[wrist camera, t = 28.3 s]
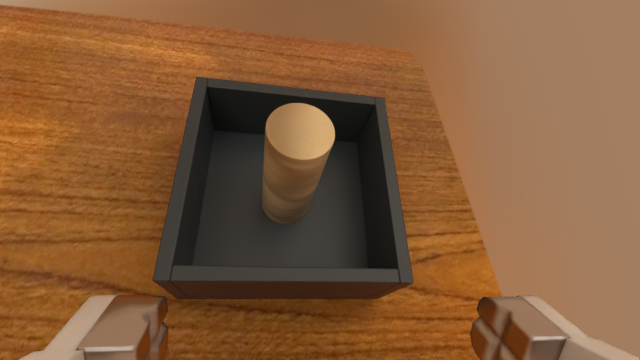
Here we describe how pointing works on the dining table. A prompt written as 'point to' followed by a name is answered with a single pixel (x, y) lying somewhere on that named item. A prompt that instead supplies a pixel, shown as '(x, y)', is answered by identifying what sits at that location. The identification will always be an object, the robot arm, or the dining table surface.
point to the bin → (262, 232)
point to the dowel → (294, 159)
